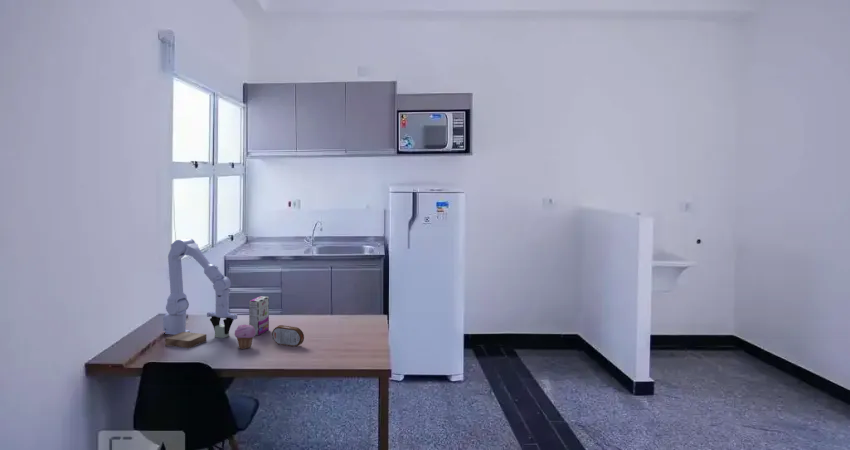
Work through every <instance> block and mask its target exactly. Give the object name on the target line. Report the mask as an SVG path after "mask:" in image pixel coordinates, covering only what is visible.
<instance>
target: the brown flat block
mask: <svg viewBox="0 0 850 450" xmlns="http://www.w3.org/2000/svg"><path fill="white" fill-rule="evenodd" d="M205 342H207V333H199V332H191V331H189V332H181V333H178V334H175V335H173V334H172V335H171V336H168V337H165V338H164V344H165V346H168V347H169V346H170V347H177V348H178V347H179V348H187V349H191V348H193V347H195V346H198V345H200V344H202V343H205Z"/></svg>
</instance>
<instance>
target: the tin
mask: <svg viewBox="0 0 850 450" xmlns="http://www.w3.org/2000/svg"><path fill="white" fill-rule="evenodd" d="M271 337H272V340H273V342H274V343H275V344H277V345H280V344H281V346H286V345H288V346H287V347H293V346H296V347H298V346H300V345H302V344H303V343H304V341H305V334H304V332H303V331H302V329H300V328H299V327H297V326H290V325H285V324H284V325H283V324H280V325H277V326H276V327H275V328H273V329H272V332H271Z"/></svg>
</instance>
